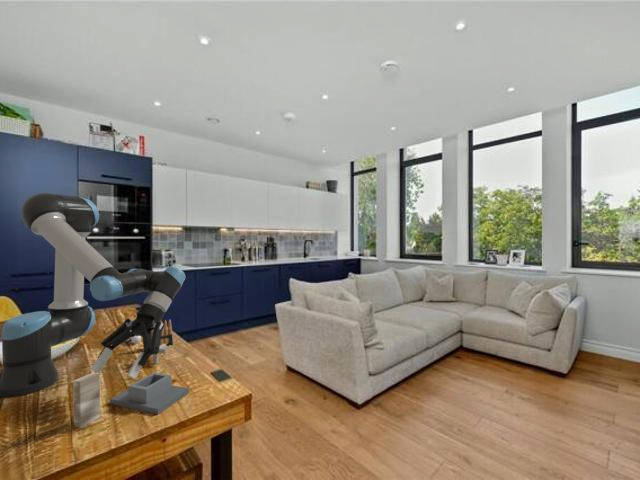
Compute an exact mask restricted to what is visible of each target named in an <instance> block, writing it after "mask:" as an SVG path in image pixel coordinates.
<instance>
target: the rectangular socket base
mask: <svg viewBox="0 0 640 480" xmlns="http://www.w3.org/2000/svg"><path fill="white" fill-rule="evenodd" d="M172 381H173V380H172V375H171V374H167V373H162V372H161V373H160V372H156V371H155V372H152V373H150V374H148V375H147V376H145V377H143V378H141V379H139V380H137V381H135V382H133V383H131V384H129V385H128V386H127V389H126V390H124V391H122V392H120V393H118V394H116V395H115V396H113V397H111V398H109V404H110V405H114V406H119V407H123V408H128V409H132V410H137V411H141V412H146V413H150V414H155V415H160V414H161V413H163V412H164V411H165V410H167V409H168V408H170V407H171V406H172V405H174V404H176V403H177V402H178V401H180V400H182V399H183V398H184V397H186V396H187V395H188V394H190V389H189V387H183V386H179V385H173V384H172V383H173V382H172Z"/></svg>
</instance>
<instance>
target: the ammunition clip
mask: <svg viewBox="0 0 640 480" xmlns="http://www.w3.org/2000/svg"><path fill="white" fill-rule="evenodd" d="M160 322H161V323H162V324H163V325H164V328H163V330H162V333H161V340H160V345H162V344H166V346H168V347H170V346H169V345H172V346H174V341H173V340H174V339H173V328H172V327H173V326H172V320H171V319H169V320H168V323H167V320H166V319H165V320H164V323H163V321H162V320H161V321H160ZM151 333H152V335H153V330H152V331H151ZM151 341H152V337H151Z"/></svg>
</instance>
